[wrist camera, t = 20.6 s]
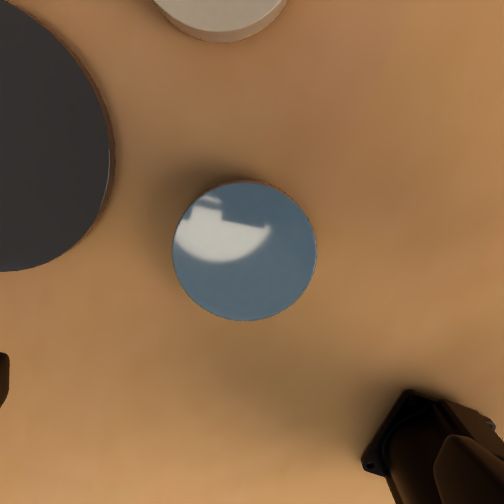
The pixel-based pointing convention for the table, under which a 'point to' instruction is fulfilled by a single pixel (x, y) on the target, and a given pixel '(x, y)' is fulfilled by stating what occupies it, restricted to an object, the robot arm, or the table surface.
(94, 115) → the charcoal plate
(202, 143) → the table surface
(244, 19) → the cream saucer
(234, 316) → the blue saucer
